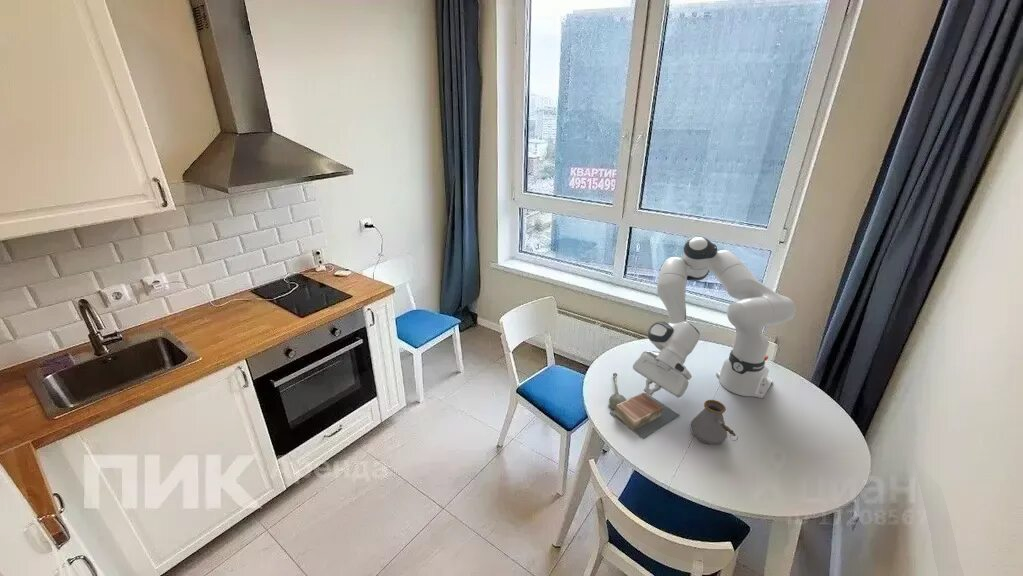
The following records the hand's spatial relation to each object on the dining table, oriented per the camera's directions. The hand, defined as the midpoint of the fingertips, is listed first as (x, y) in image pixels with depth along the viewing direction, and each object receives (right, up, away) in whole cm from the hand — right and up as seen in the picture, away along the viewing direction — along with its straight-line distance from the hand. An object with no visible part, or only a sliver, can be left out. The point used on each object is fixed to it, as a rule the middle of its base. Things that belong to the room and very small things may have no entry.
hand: (647, 393), depth 148 cm
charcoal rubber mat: (-1, -8, +1) cm, 8 cm away
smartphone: (+15, +5, +31) cm, 35 cm away
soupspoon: (-8, -3, +11) cm, 14 cm away
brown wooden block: (+2, -4, +2) cm, 5 cm away
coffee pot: (+17, -15, -13) cm, 26 cm away
